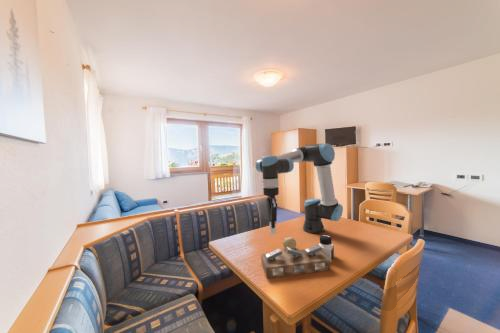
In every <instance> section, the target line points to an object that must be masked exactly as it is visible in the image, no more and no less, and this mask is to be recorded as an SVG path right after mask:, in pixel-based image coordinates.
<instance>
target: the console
mask: <svg viewBox="0 0 500 333" xmlns="http://www.w3.org/2000/svg"><path fill="white" fill-rule="evenodd" d="M305 249H306V248H305ZM305 249H297V250H298V251H300V252H301V253H302V254H303V255H302V257H299V256H296V255H293V254H289V253H287V252H286V251H282V254H281V255H279V256H277V257H275V258H273V259H271V260H269V261H268V260H267V257H266V254H267V253H262V254H260V259H261V266H262V269H263V272H264V274H265V277H266V279H269V278H279V277H284V276H285V277H286V276H294V275H301V274H302V275H303V274H309V273H317V272H323V271H324V272H325V271H331V262H330V259H329V258H328V257H327V256H326V255H325V254H324V253H323V252H321V251H318V252H316V253H313V254H311V255H307V254H306V252H305Z"/></svg>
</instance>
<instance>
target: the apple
mask: <svg viewBox="0 0 500 333" xmlns="http://www.w3.org/2000/svg"><path fill="white" fill-rule="evenodd" d="M296 241H297V240H296V239H295V238H294V237H292V236H289V237H285V238H284V239H283V241H282V245H283V248H284V250H285V249H286V247H289V248H291V249H294V250H296V247H297V242H296Z"/></svg>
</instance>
